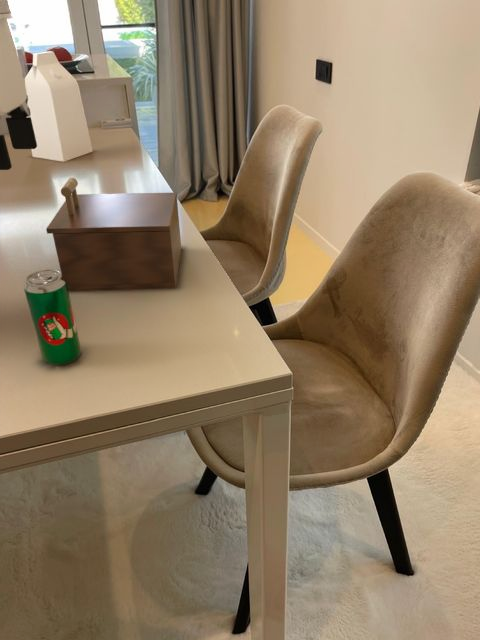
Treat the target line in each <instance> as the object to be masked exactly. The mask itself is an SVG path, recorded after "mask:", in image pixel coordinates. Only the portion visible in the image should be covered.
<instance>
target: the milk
mask: <svg viewBox="0 0 480 640" xmlns="http://www.w3.org/2000/svg"><path fill="white" fill-rule="evenodd" d="M24 79H25V86H26V93H27V96H28V97H27V98H28V102H27V105H28V107H29V109H30V112H31V116H30V117H31V120H32V125H33V129H34V134H35V138H36V143H37V147H36V148H35V149H30V150H31V156H32V158H39V159H44V160H50V161H57V162H63V163H65V162H68V161H70V160H73V159H75V158H79V157H81V156H84V155H86V154H90V153H92V152H93V146H92V140H91V137H90V132H89V126H88V124H87V123H88V122H87V119H86V113H85V108H84V104H83V99H82V94H81V90H80V86H79V83H78V81H77V79H76V78H75V77H74V76H73V75H72V74H71V73H70V72H69V71H68V70H67V69H66V68H65V67H64V66H63V65H62V64H61V63H60V62H59V60H58V58H57V56H56V54H55V52H54V51H51V50H50V51H42V52H35V53H33V54H32V66H31V68H30V69H29V71H28V73H27V74H26V75H25V77H24Z"/></svg>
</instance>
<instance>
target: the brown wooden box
mask: <svg viewBox="0 0 480 640" xmlns="http://www.w3.org/2000/svg"><path fill="white" fill-rule="evenodd" d="M178 205H179V203H178V197H177V198H176V203H175V208H174V213H173V218H172V223H171V228H170V231H137V232H94V233H52V238H53V242H54V246H55V250H56V255H57V260H58V264H59V269H60V273H61V274H62V277H63V278H64V279H65V280H66V283H67V287H68V292H83V291H86V292H87V291H118V290H120V291H123V290H153V289H154V290H155V289H176V288H177V281H178V275H179V267H180V261H181V253H182V241H181V239H182V238H181V229H180V219H179V206H178Z"/></svg>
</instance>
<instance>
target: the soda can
mask: <svg viewBox="0 0 480 640" xmlns="http://www.w3.org/2000/svg"><path fill="white" fill-rule="evenodd" d="M24 282H25V284H24V286H23V290H24V294H25V298H26V301H27V306H28V308H29V313H30V316H31V320H32V324H33V328H34V331H35V336H36V339H37V342H38V346H39V351H40V354H41V357H42V359H43V360H44V362H45V363H48V364H50V365H53V366H63V365H67V364H70V363H72V362H74V361H75V360H77V358H79V356H80V354H81V352H82V348H81V342H80V339H79V338H80V337H79V334H78V328H77V324H76V319H75V315H74V311H73V305H72V302H71V297H70V291H68V287H67V283H66V280H65V279H64V278H63V277H62V274H61V271H58V270H56V269H42V270H37V271H34V272H32V273H30V274H28V275H26V277H25V279H24Z"/></svg>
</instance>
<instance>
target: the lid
mask: <svg viewBox="0 0 480 640" xmlns="http://www.w3.org/2000/svg"><path fill="white" fill-rule="evenodd" d="M78 185H79V182H78V179H76V178H75V177H70V178H68V180H67V181H66V182H65V183H64V185H63V186H62V187H61V188H60V193H61V195H62V196H63V197H64V198H65V200H64V202H63V204H62V205H61V207H60V208H59V210H58V211H57V212H56V214H55V215H54V217H53V218H52V219H51V221H50V223H49V224H48V225H47V226H46V229H45V230H46V234H53V233H94V232H137V231H170V228H171V223H172V218H173V213H174V208H175V203H176V198H177V199H178V196H177V192H139V193H137V192H135V193H134V192H133V193H132V192H131V193H129V192H128V193H86V194H85V193H84V194H82V193H81V194H79V193H77V187H78Z"/></svg>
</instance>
